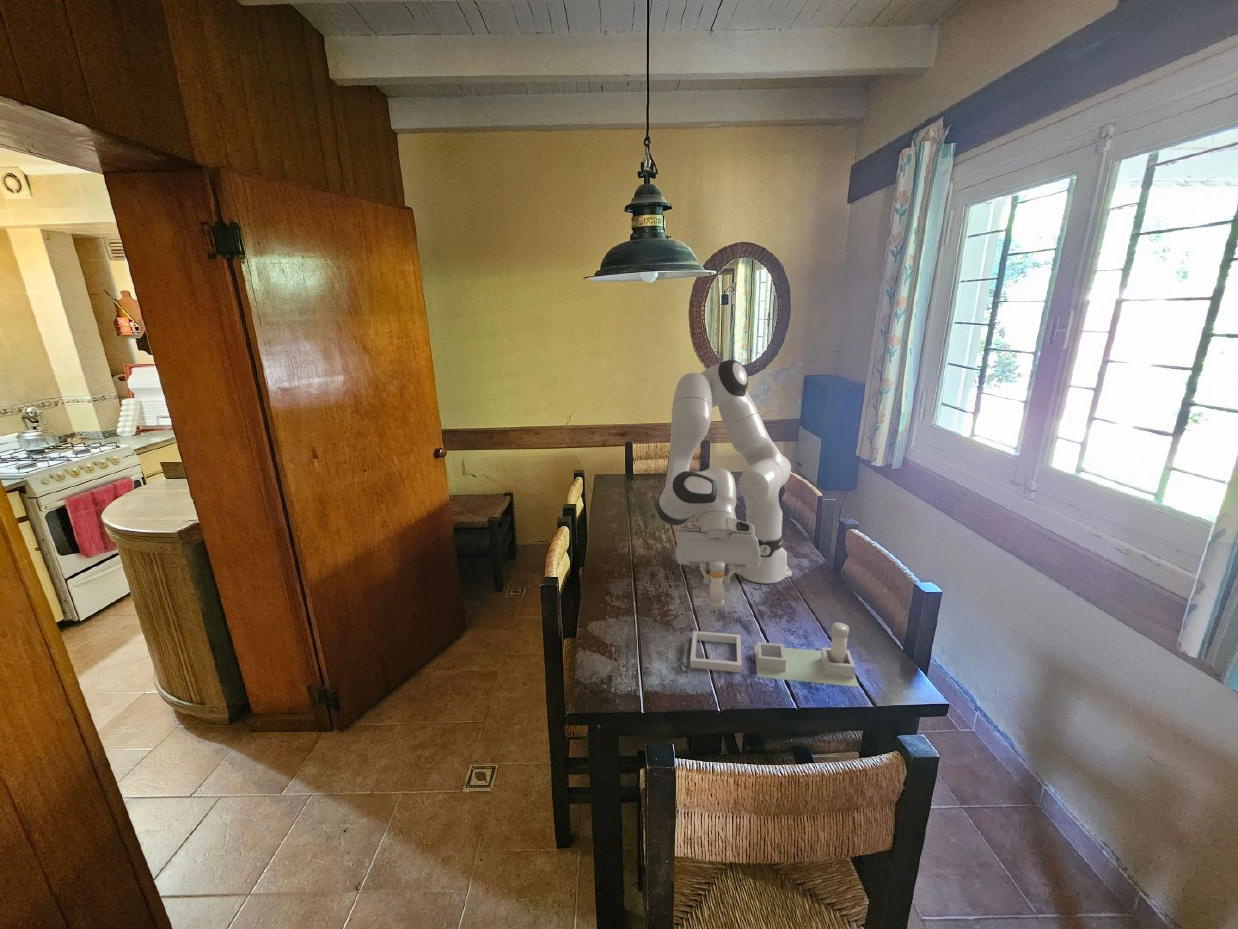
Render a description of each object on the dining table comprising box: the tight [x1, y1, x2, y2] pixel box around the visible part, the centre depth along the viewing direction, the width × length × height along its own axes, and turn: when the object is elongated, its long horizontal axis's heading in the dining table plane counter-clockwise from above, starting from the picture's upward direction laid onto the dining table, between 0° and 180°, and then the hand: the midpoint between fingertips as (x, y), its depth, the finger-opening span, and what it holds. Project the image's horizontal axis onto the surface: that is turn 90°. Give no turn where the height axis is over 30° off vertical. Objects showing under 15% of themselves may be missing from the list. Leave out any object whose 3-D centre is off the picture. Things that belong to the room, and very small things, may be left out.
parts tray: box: [689, 630, 743, 673], centre depth 125 cm, size 12×12×3 cm
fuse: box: [829, 622, 850, 664], centre depth 117 cm, size 4×4×11 cm
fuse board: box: [753, 641, 860, 688], centre depth 120 cm, size 12×22×4 cm, turn 78°
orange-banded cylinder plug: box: [708, 560, 726, 609], centre depth 120 cm, size 4×4×11 cm
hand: (716, 583), depth 120 cm, fingers closed on orange-banded cylinder plug, 3 cm apart
